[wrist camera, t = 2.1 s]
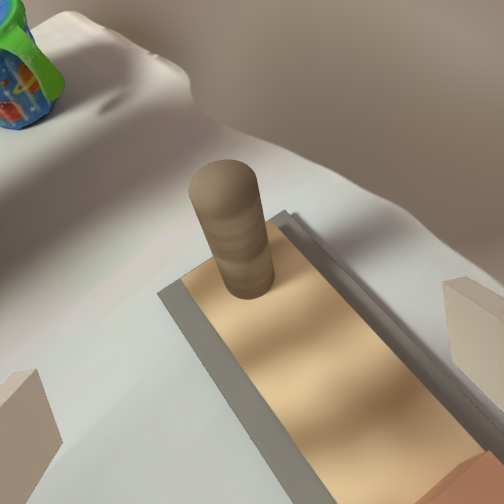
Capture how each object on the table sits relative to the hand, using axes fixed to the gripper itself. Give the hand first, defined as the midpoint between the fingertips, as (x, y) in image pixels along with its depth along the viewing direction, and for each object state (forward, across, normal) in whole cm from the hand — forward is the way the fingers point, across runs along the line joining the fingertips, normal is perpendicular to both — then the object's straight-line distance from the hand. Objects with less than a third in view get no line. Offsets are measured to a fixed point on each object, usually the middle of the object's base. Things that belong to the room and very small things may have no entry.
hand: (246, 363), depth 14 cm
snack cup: (+39, -21, +16) cm, 47 cm away
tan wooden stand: (+11, +5, -10) cm, 16 cm away
